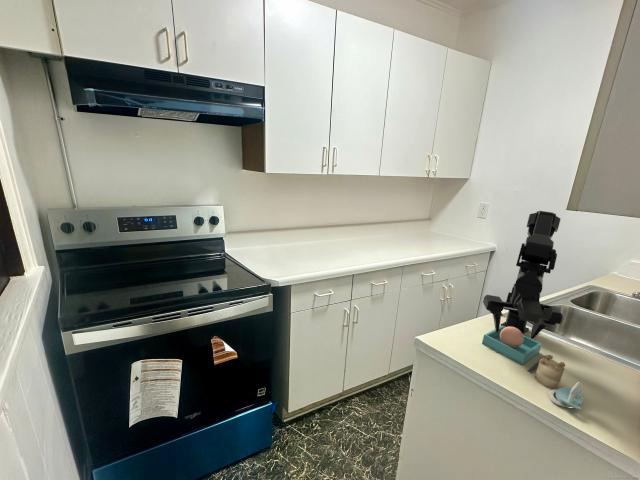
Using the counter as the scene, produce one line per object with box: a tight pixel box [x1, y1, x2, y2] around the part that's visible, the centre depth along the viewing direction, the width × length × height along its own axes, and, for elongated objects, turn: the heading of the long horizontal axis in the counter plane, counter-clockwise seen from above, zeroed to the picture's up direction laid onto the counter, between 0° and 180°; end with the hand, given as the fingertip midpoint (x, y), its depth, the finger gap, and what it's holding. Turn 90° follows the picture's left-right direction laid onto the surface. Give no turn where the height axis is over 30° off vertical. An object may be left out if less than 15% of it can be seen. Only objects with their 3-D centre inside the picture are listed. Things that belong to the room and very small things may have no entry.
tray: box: [481, 325, 543, 366], centre depth 93 cm, size 11×11×3 cm
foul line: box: [527, 354, 553, 374], centre depth 87 cm, size 14×1×1 cm, turn 125°
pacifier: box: [548, 381, 584, 410], centre depth 73 cm, size 7×6×6 cm
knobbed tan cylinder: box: [534, 354, 566, 389], centre depth 79 cm, size 5×5×6 cm
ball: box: [500, 327, 524, 348], centre depth 92 cm, size 6×6×6 cm
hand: (513, 335), depth 92 cm, fingers open, 9 cm apart
